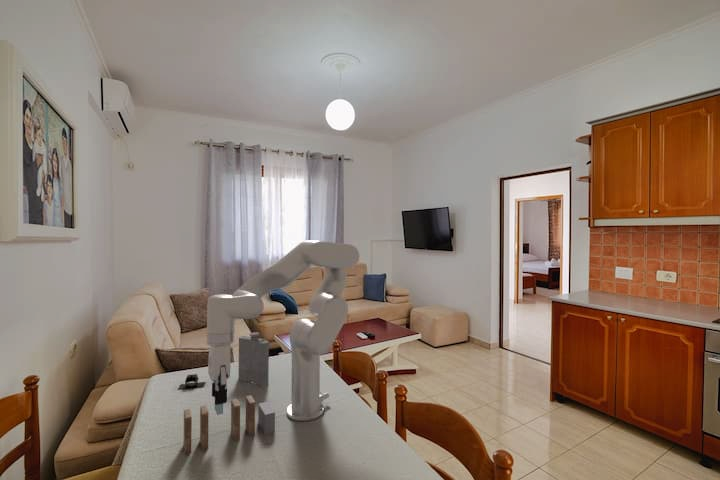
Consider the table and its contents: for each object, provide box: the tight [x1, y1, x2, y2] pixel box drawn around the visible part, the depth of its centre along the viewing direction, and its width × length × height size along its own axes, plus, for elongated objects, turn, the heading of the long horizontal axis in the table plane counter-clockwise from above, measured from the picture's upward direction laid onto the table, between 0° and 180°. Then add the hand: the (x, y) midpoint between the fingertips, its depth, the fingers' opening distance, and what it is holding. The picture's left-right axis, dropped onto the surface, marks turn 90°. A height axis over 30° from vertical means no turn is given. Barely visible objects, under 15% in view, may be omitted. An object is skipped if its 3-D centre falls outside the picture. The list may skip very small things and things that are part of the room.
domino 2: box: [199, 404, 209, 451], centre depth 97 cm, size 2×5×10 cm, turn 31°
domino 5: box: [245, 394, 256, 437], centre depth 104 cm, size 2×5×10 cm, turn 31°
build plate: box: [177, 373, 207, 391], centre depth 136 cm, size 12×7×5 cm, turn 106°
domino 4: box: [230, 398, 241, 441], centre depth 102 cm, size 2×5×10 cm, turn 31°
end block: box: [257, 401, 276, 435], centre depth 107 cm, size 3×8×6 cm, turn 31°
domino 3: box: [214, 377, 224, 416], centre depth 99 cm, size 2×5×10 cm, turn 31°
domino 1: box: [183, 408, 193, 455], centre depth 95 cm, size 2×5×10 cm, turn 31°
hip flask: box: [238, 331, 270, 388], centre depth 141 cm, size 16×4×20 cm, turn 60°
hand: (219, 398), depth 99 cm, fingers closed on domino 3, 4 cm apart
